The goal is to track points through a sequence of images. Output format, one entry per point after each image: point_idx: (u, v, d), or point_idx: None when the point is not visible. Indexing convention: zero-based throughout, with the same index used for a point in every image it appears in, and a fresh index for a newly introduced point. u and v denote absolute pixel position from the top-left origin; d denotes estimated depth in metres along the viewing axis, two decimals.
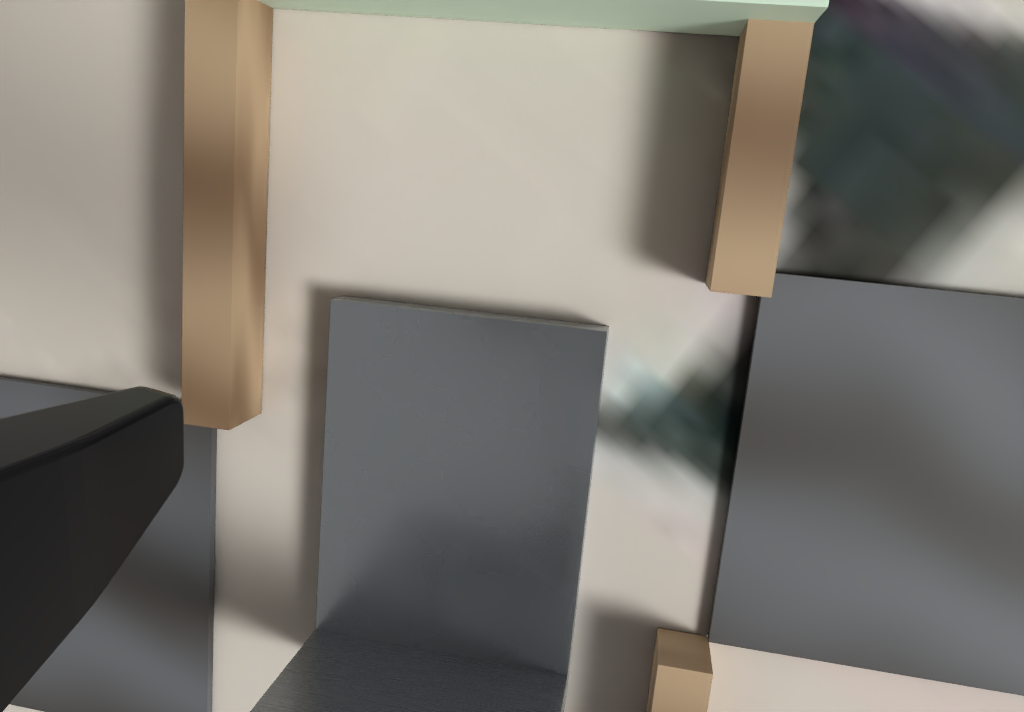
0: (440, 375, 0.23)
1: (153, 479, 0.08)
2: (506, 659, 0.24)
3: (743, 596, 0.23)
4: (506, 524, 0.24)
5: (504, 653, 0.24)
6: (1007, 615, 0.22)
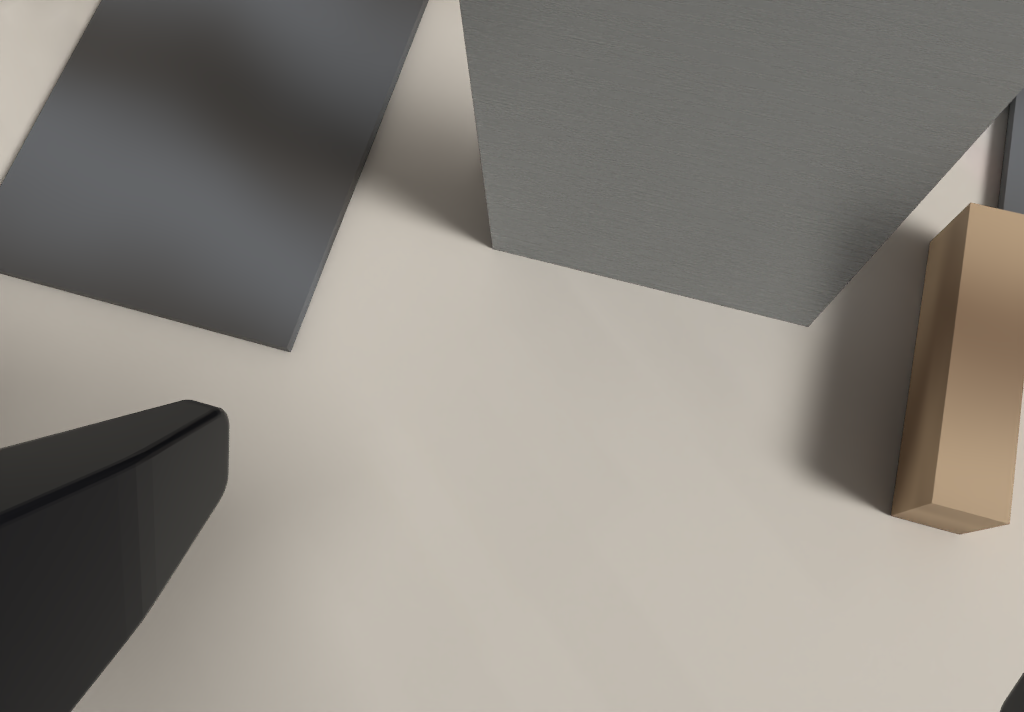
0: None
1: (200, 493, 0.08)
2: None
3: None
4: None
5: None
6: None
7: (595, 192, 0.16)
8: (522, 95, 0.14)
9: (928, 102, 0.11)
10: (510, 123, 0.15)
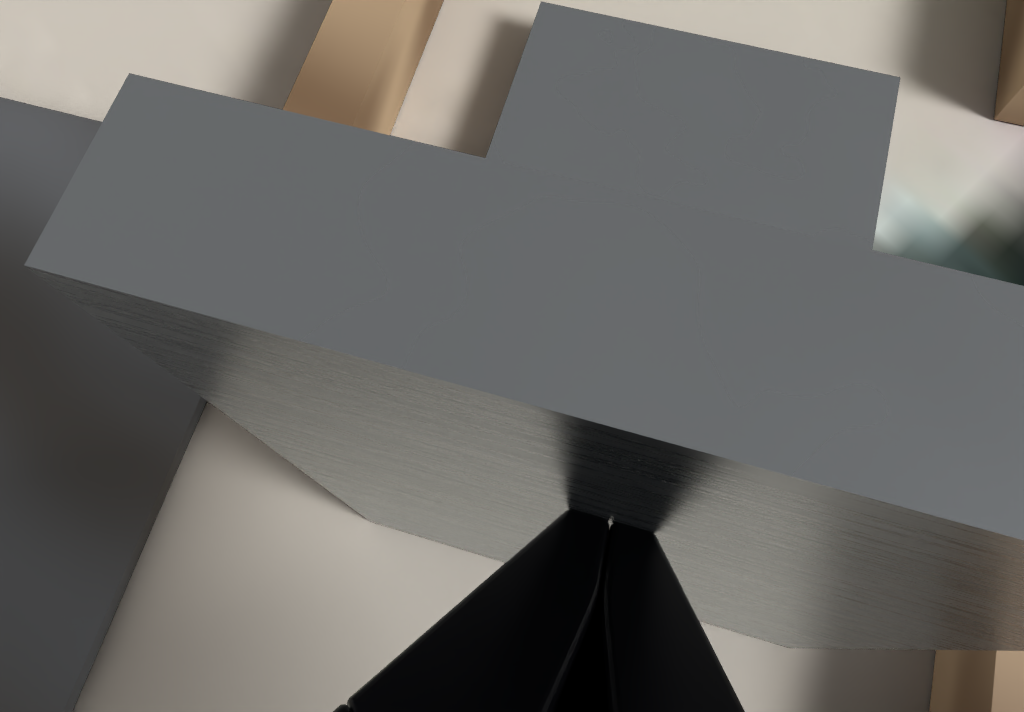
0: (672, 98, 0.17)
1: None
2: None
3: None
4: None
5: None
6: None
7: (477, 530, 0.11)
8: (335, 460, 0.09)
9: (988, 615, 0.06)
10: (333, 470, 0.10)
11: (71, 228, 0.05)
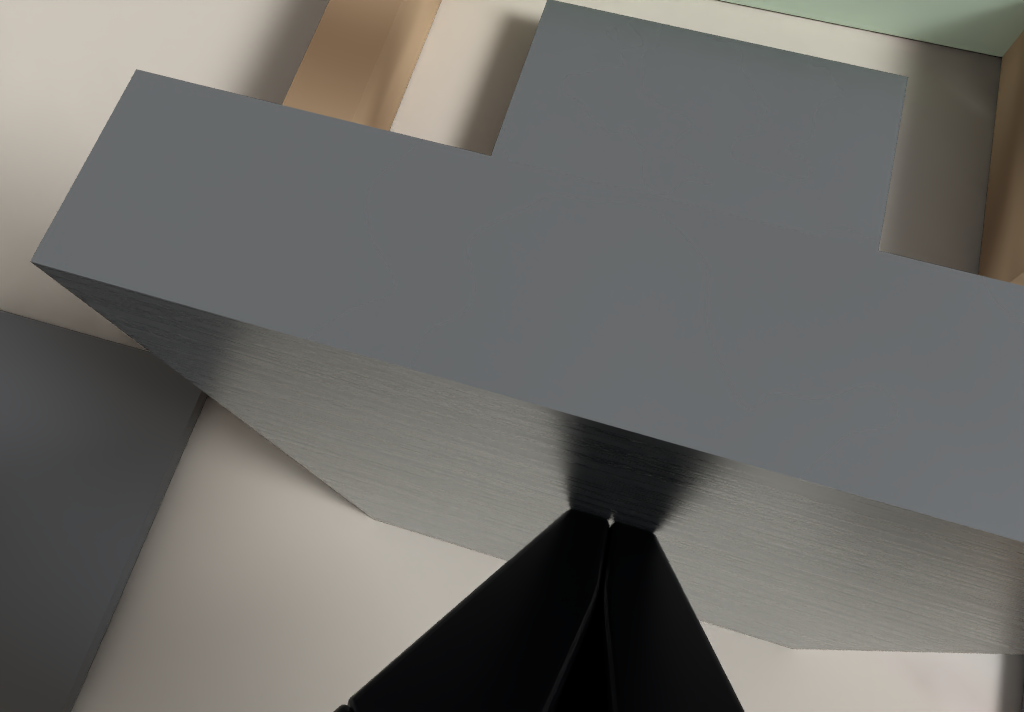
0: (678, 98, 0.17)
1: None
2: None
3: None
4: None
5: None
6: None
7: (481, 529, 0.11)
8: (340, 458, 0.09)
9: (994, 619, 0.06)
10: (337, 468, 0.10)
11: (78, 224, 0.05)
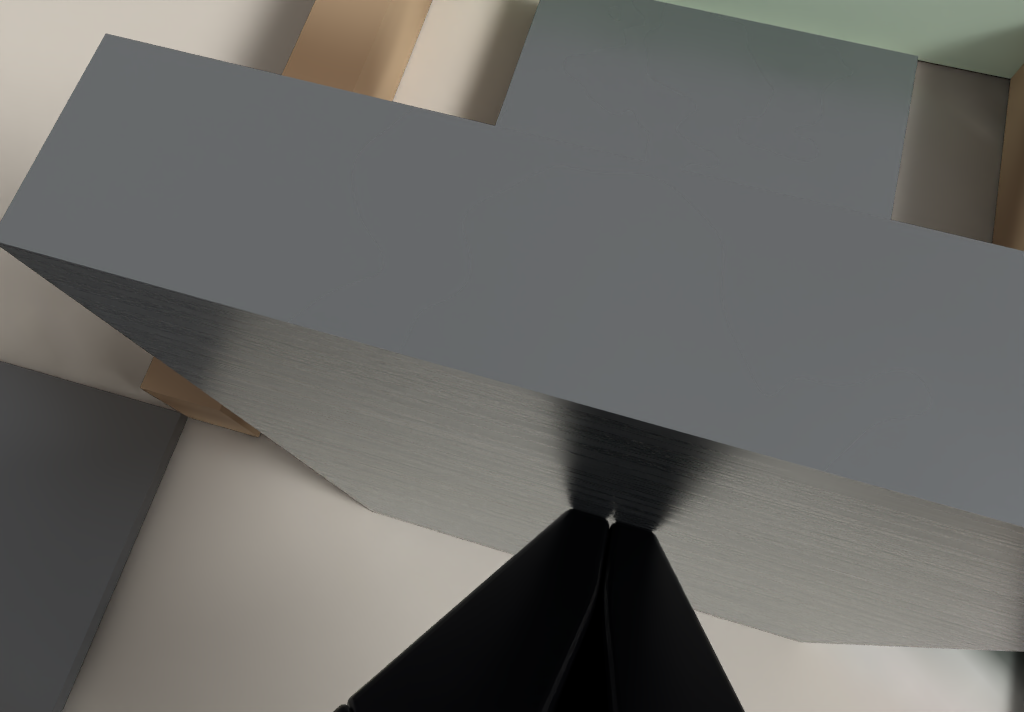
0: (682, 78, 0.17)
1: None
2: None
3: None
4: None
5: None
6: None
7: (481, 521, 0.11)
8: (333, 450, 0.09)
9: (1022, 618, 0.06)
10: (331, 459, 0.10)
11: (41, 200, 0.05)
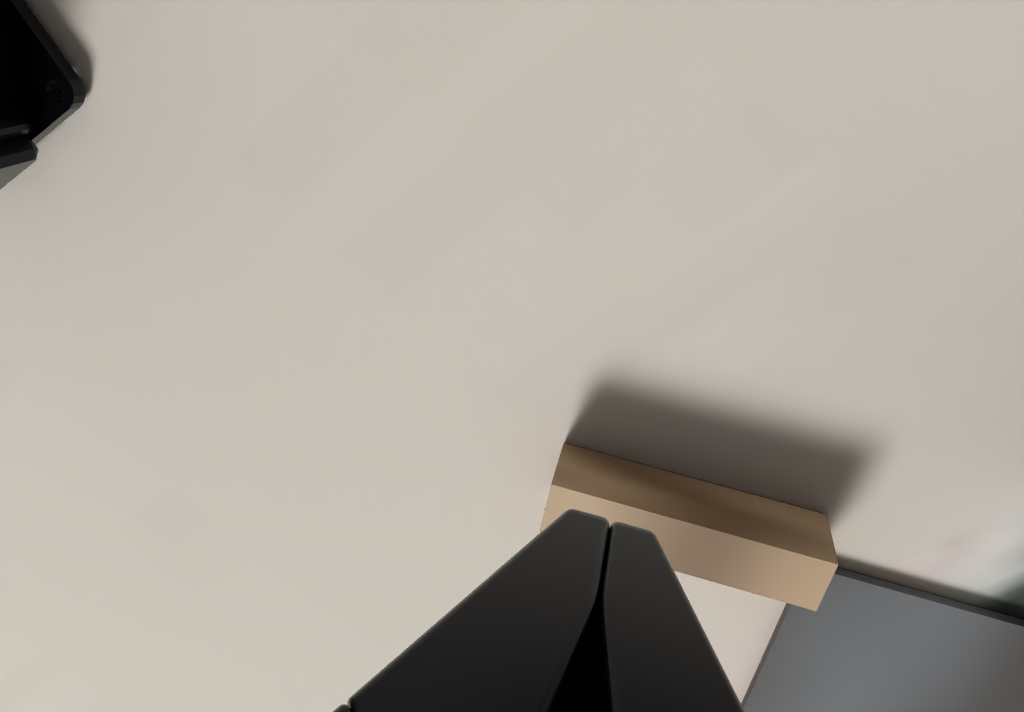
0: None
1: None
2: None
3: (858, 605, 0.21)
4: None
5: None
6: None
7: None
8: None
9: None
10: None
11: None
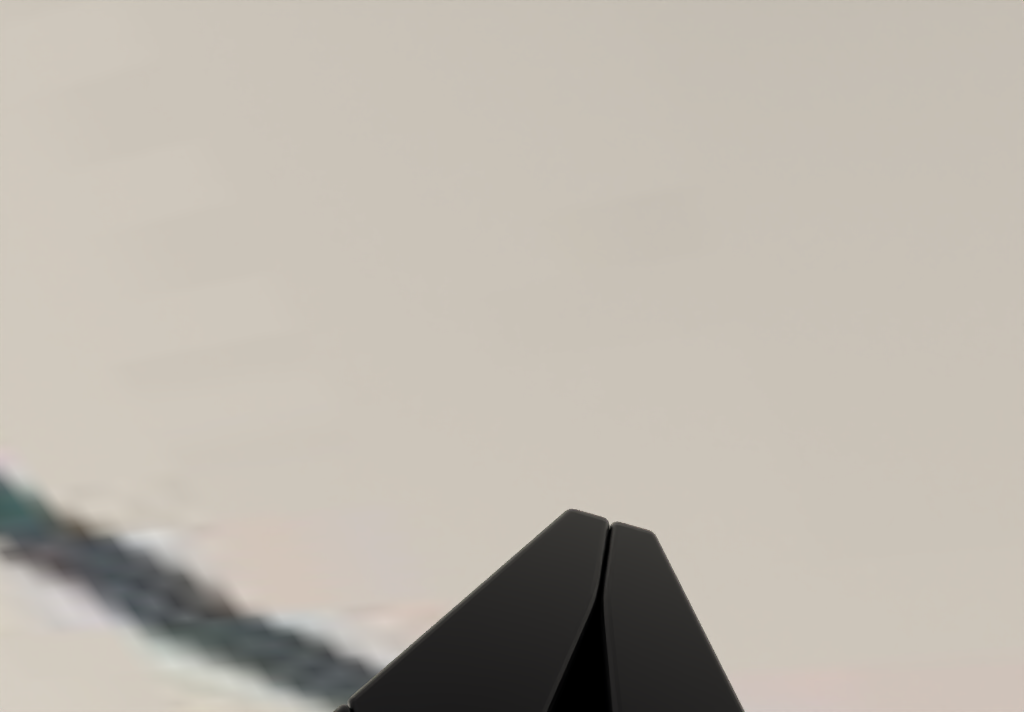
0: None
1: None
2: None
3: None
4: None
5: None
6: None
7: None
8: None
9: None
10: None
11: None
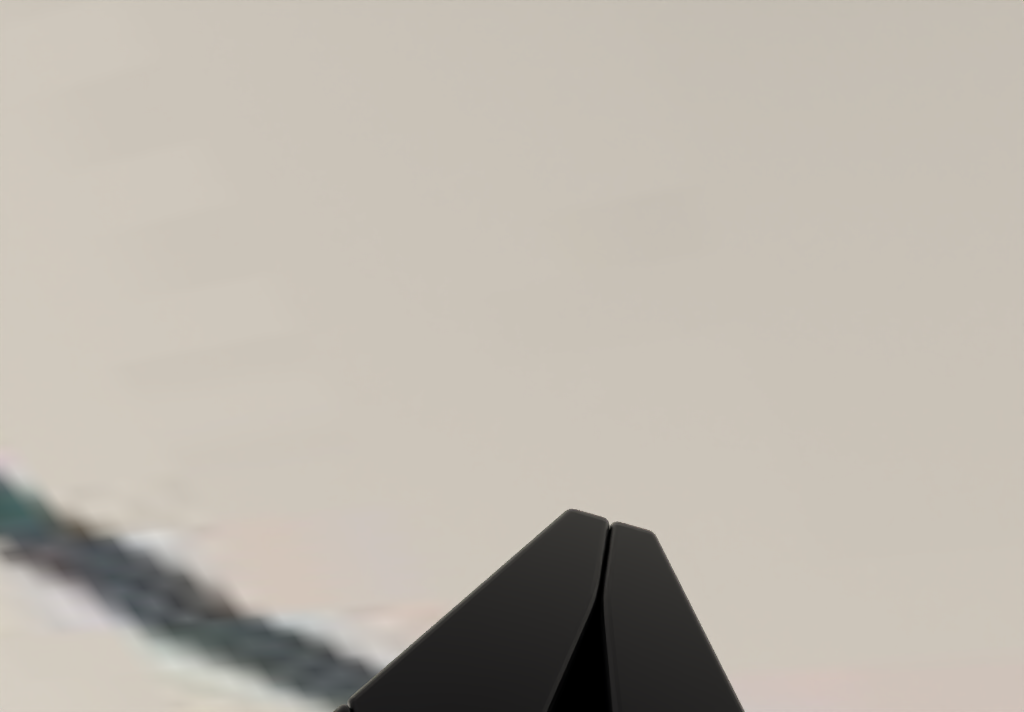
0: None
1: None
2: None
3: None
4: None
5: None
6: None
7: None
8: None
9: None
10: None
11: None
